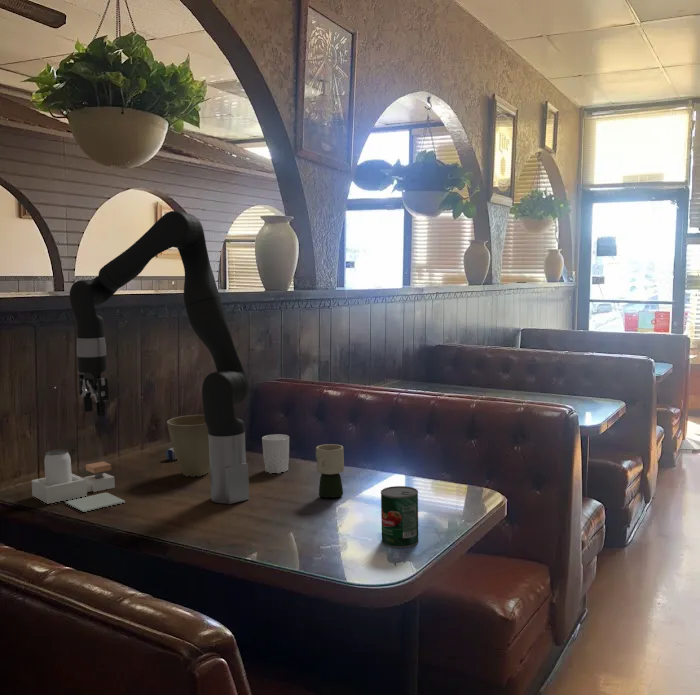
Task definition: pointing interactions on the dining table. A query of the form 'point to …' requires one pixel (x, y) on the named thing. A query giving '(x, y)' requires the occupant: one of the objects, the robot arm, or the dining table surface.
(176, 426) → the plant pot
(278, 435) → the white cup
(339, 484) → the character mug
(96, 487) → the white piece
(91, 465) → the light brown square block
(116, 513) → the dining table surface
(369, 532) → the dining table surface
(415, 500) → the canned tomato
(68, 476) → the can
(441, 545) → the dining table surface
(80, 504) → the pad
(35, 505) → the dining table surface
